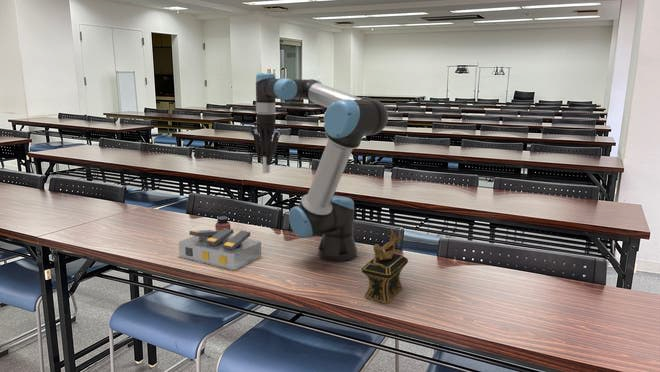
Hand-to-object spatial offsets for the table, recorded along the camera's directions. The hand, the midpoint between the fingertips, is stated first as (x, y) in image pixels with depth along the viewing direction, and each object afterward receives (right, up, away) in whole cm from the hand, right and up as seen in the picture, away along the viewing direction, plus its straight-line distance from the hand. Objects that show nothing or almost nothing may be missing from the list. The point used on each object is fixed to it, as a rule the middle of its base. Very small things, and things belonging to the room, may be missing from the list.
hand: (266, 172), depth 188 cm
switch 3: (-8, -25, -17) cm, 32 cm away
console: (-16, -32, -12) cm, 38 cm away
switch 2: (-16, -24, -13) cm, 32 cm away
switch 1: (-23, -23, -10) cm, 34 cm away
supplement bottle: (-18, -29, +2) cm, 34 cm away
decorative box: (+44, -40, -38) cm, 70 cm away
